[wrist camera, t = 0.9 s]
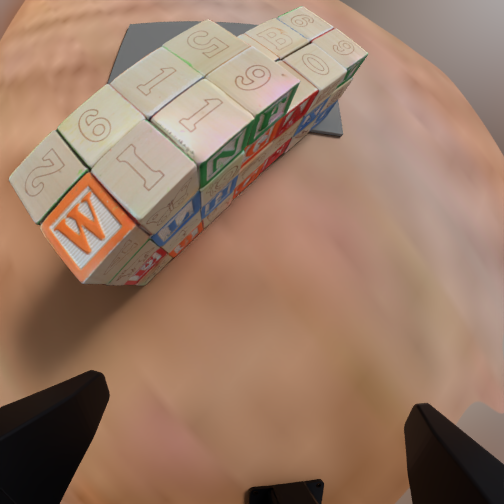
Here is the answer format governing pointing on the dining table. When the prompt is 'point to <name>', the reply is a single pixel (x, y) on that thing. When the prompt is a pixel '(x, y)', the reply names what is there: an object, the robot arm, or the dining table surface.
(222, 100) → the stack of blocks
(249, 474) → the dining table surface
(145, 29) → the mat
